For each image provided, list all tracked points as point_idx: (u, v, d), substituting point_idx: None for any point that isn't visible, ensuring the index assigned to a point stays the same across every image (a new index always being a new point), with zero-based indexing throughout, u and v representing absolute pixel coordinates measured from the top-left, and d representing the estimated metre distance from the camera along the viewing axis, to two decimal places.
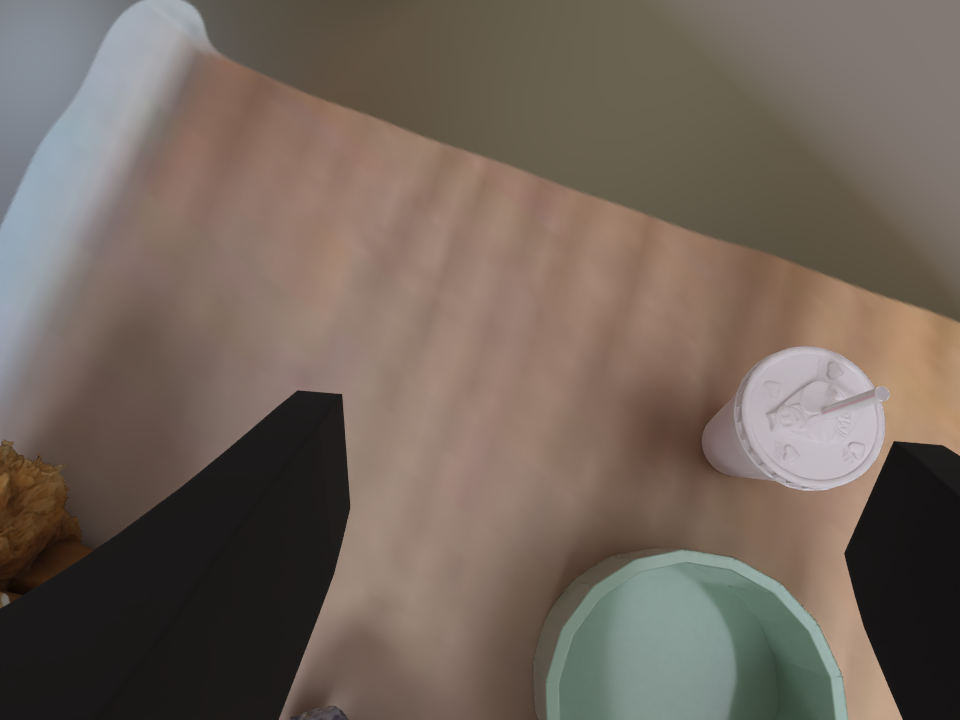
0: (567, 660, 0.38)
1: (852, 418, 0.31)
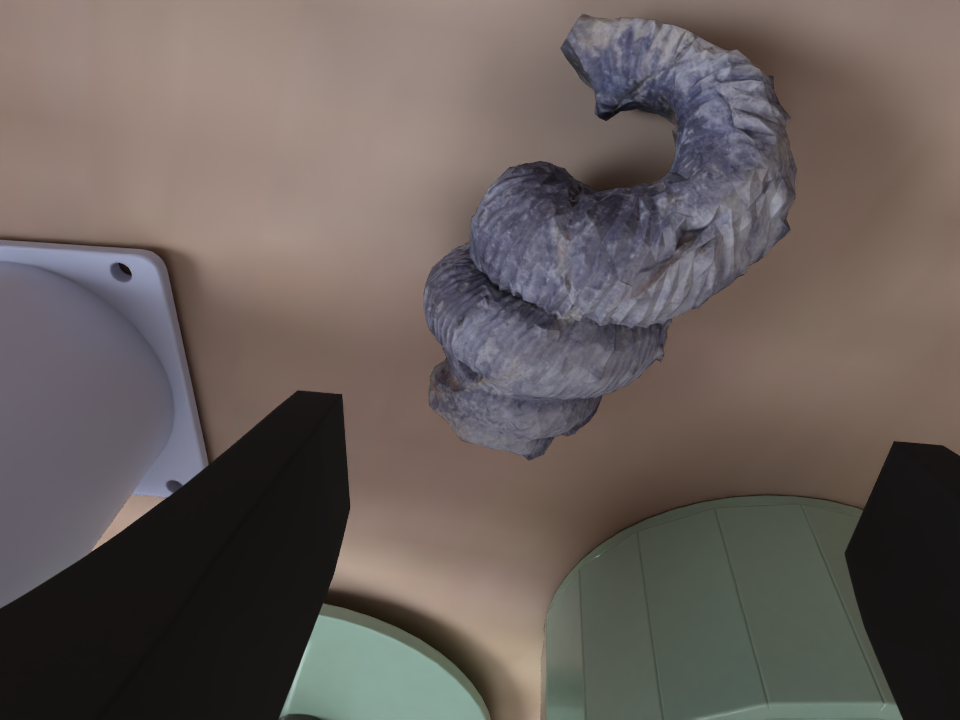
0: None
1: None
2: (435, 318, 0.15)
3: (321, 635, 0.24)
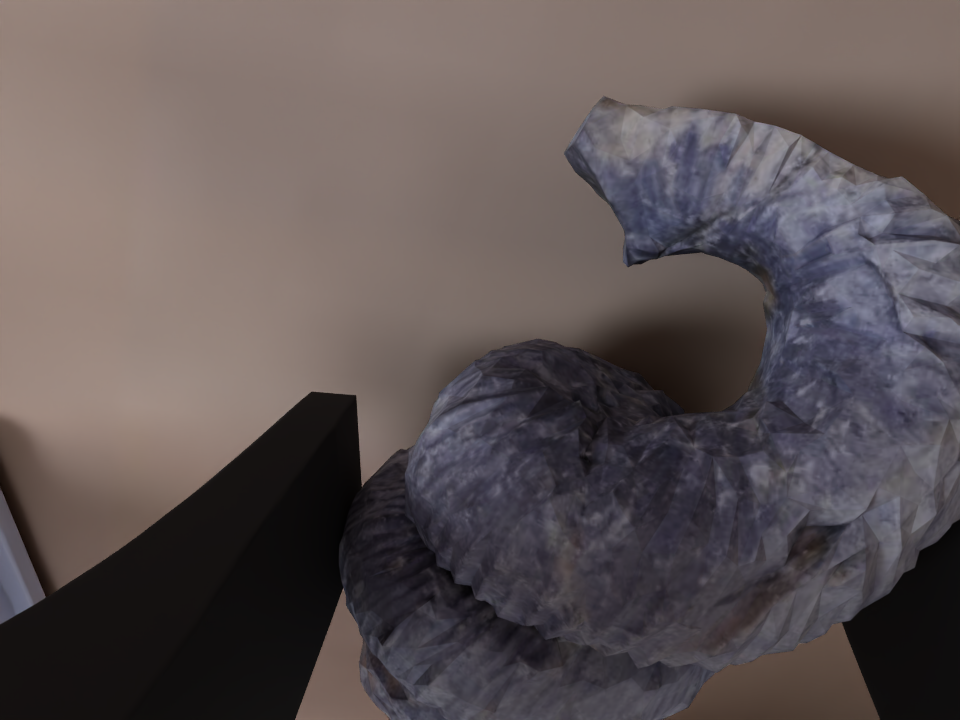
0: None
1: None
2: (352, 604, 0.09)
3: None
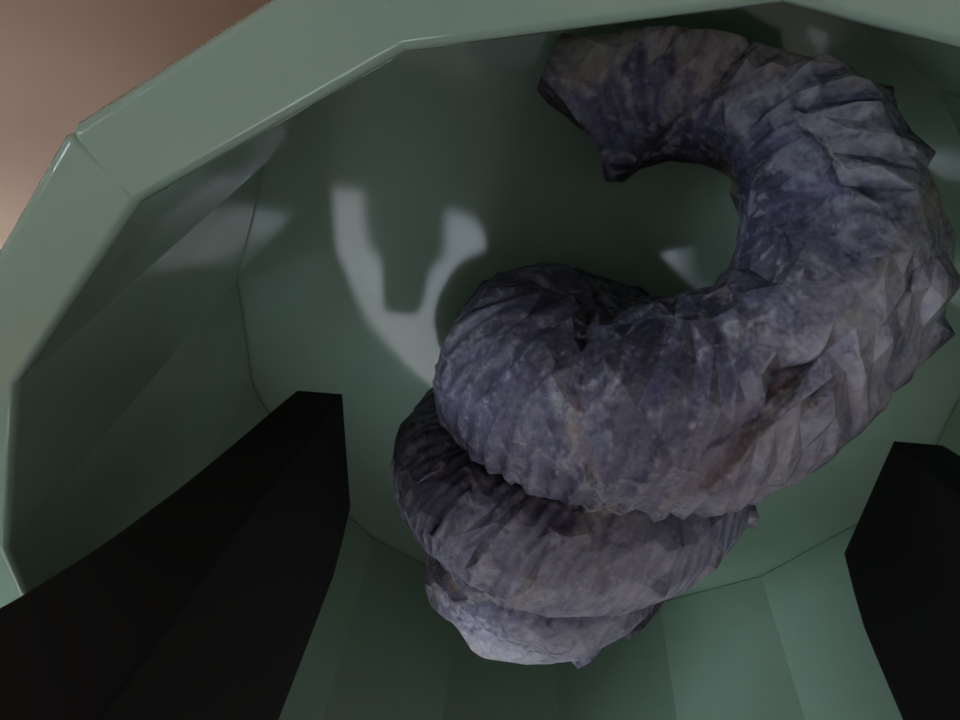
0: None
1: None
2: (406, 512, 0.10)
3: None
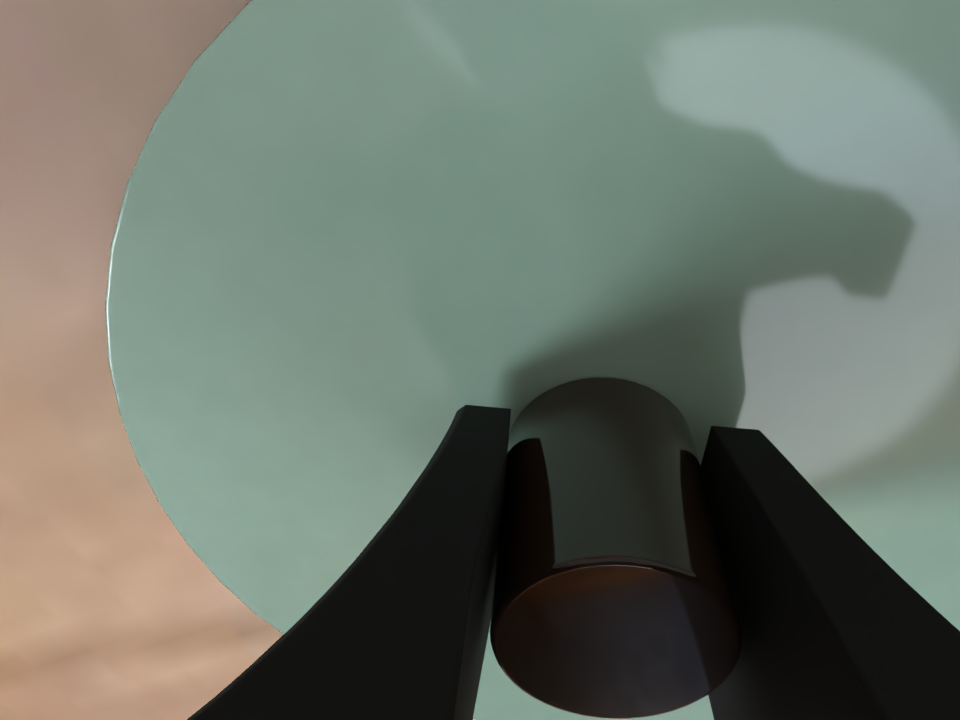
0: None
1: None
2: None
3: (395, 31, 0.08)
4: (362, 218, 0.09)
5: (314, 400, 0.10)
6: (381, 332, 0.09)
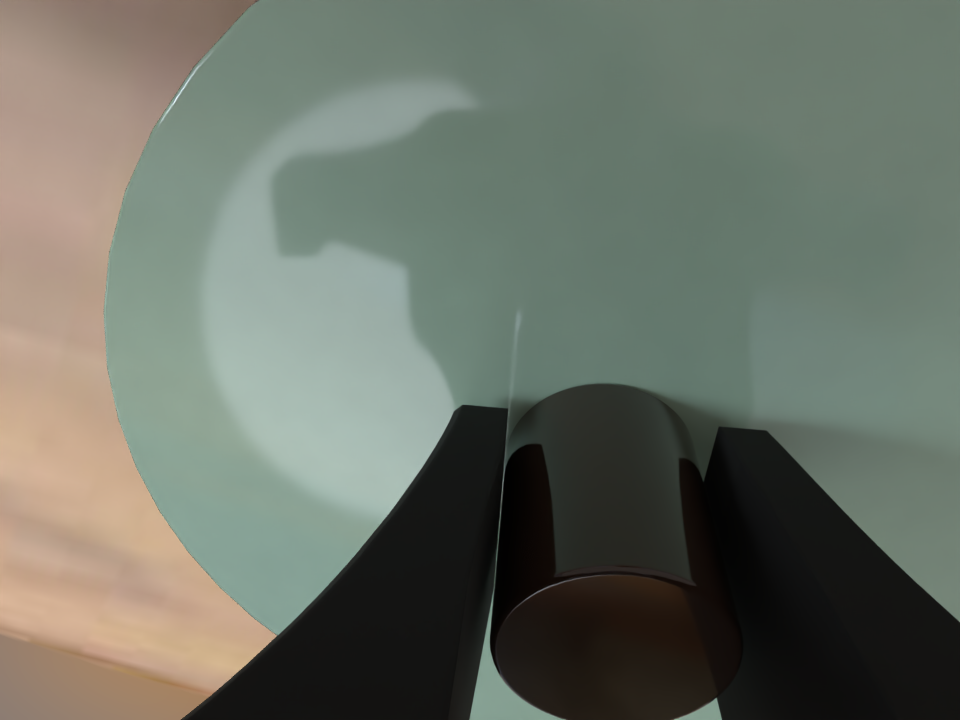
0: None
1: None
2: None
3: (393, 37, 0.07)
4: (361, 225, 0.09)
5: (313, 406, 0.10)
6: (380, 338, 0.09)
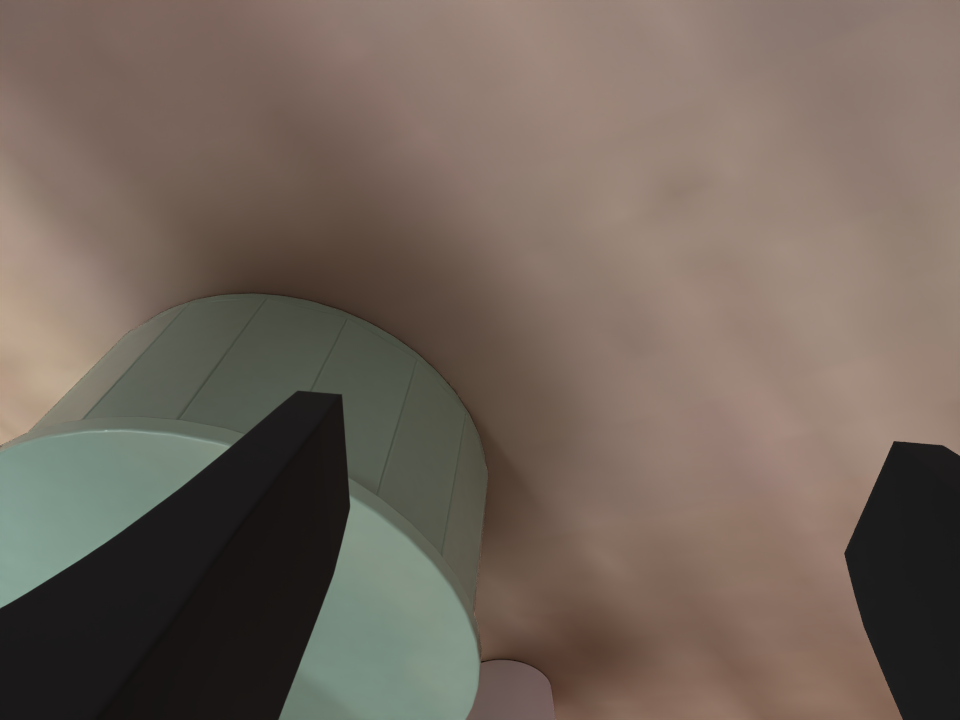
0: None
1: None
2: None
3: (191, 472, 0.15)
4: (135, 517, 0.16)
5: (61, 565, 0.17)
6: None
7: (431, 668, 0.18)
